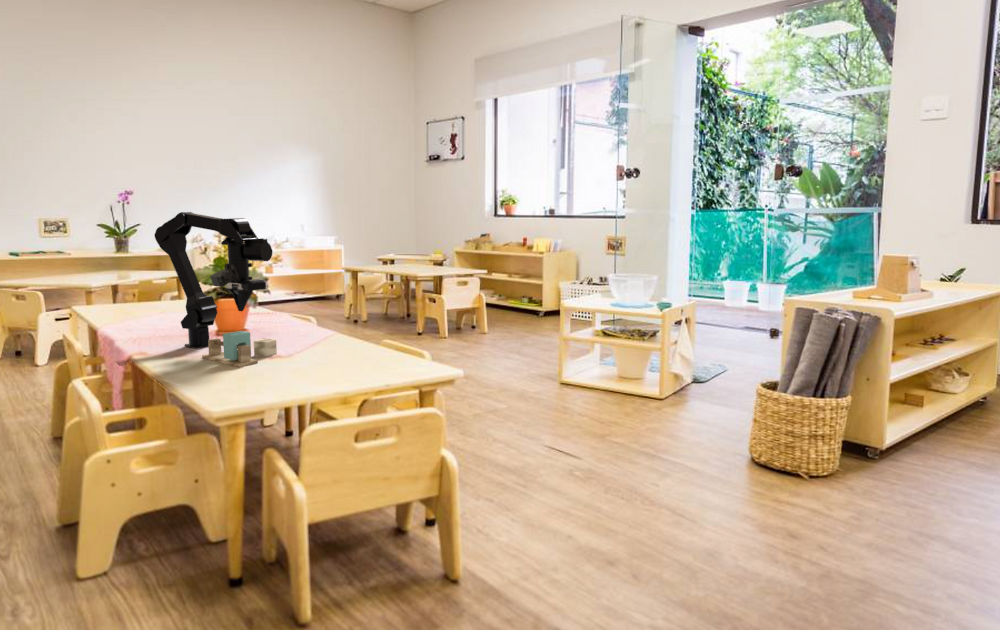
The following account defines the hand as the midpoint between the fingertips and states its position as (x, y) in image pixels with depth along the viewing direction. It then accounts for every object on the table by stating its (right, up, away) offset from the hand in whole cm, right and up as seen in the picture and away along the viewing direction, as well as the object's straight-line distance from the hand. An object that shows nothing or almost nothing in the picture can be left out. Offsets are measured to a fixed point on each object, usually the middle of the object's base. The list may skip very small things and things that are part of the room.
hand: (240, 311), depth 213 cm
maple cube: (+9, -13, -5) cm, 17 cm away
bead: (+5, -13, -15) cm, 21 cm away
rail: (+2, -14, -13) cm, 19 cm away
